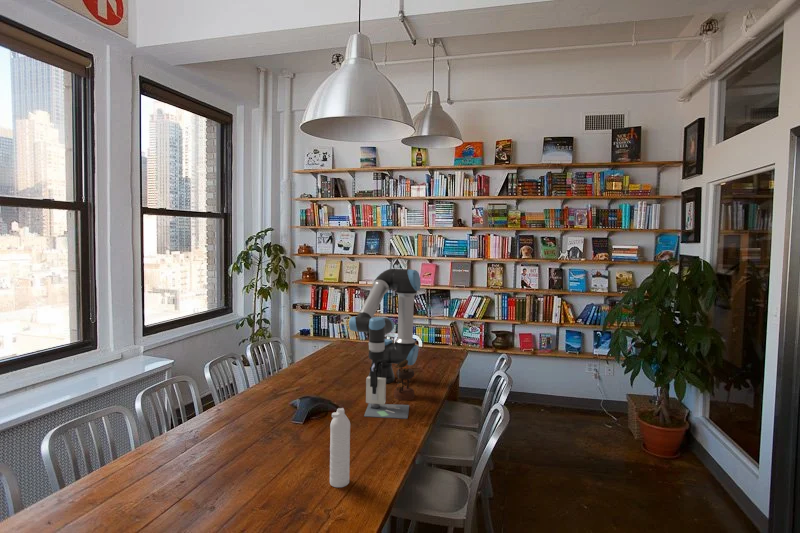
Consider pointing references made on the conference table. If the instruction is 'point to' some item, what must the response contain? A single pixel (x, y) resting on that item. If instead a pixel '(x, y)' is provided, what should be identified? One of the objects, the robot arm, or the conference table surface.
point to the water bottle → (339, 449)
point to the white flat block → (381, 393)
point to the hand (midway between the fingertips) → (375, 398)
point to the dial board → (388, 411)
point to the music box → (404, 382)
